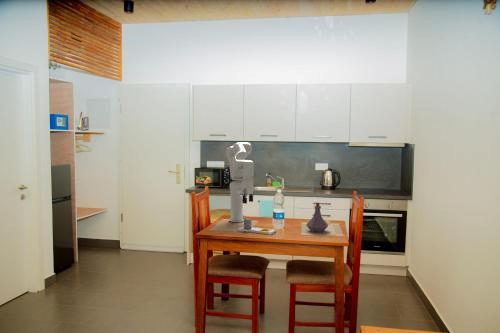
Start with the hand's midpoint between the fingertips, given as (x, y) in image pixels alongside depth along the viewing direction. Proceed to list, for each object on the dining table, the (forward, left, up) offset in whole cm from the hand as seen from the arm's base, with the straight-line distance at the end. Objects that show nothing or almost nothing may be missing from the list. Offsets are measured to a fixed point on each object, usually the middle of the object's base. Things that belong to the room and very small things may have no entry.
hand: (247, 202), depth 280 cm
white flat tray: (0, +7, -20) cm, 21 cm away
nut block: (0, 0, -20) cm, 20 cm away
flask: (-23, +44, -20) cm, 54 cm away
